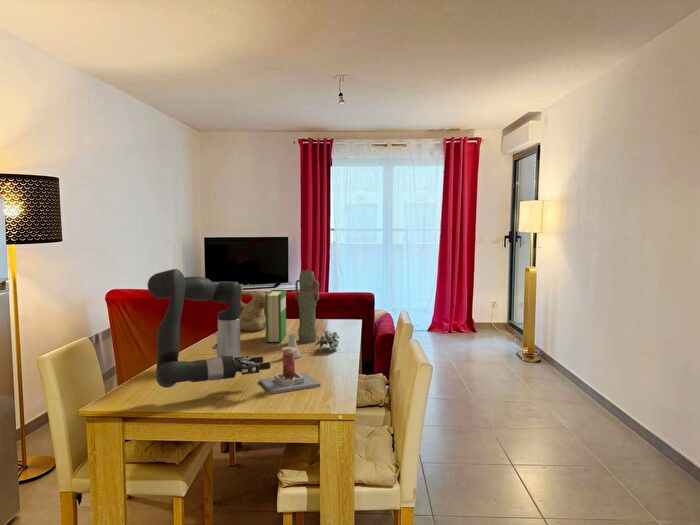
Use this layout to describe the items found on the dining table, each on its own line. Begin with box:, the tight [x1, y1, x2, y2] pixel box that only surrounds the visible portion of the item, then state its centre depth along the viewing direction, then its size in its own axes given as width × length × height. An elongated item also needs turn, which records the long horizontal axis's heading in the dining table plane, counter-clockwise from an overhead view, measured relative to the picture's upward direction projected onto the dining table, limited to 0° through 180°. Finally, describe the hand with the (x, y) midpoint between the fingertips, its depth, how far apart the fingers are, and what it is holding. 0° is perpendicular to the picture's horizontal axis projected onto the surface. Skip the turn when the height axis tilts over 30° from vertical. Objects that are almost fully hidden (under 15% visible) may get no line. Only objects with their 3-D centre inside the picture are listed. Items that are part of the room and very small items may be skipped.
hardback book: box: [264, 289, 287, 344], centre depth 248 cm, size 18×7×24 cm, turn 179°
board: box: [258, 371, 321, 395], centre depth 178 cm, size 18×15×3 cm
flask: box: [286, 333, 302, 359], centre depth 215 cm, size 7×7×10 cm
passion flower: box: [315, 329, 340, 352], centre depth 227 cm, size 11×11×12 cm
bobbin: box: [281, 346, 296, 383], centre depth 178 cm, size 5×5×12 cm
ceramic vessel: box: [239, 283, 267, 332], centre depth 273 cm, size 17×20×25 cm
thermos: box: [294, 269, 320, 344], centre depth 244 cm, size 9×12×35 cm
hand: (266, 362), depth 174 cm, fingers open, 8 cm apart
